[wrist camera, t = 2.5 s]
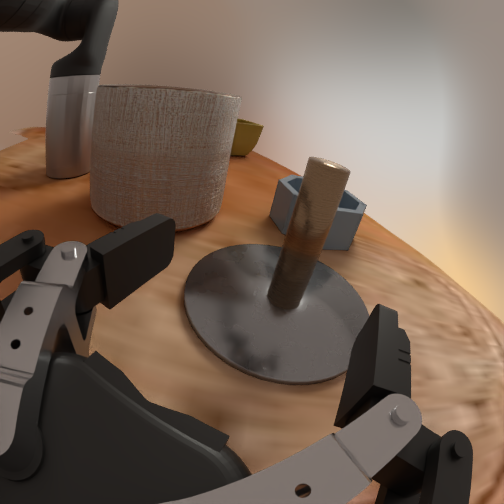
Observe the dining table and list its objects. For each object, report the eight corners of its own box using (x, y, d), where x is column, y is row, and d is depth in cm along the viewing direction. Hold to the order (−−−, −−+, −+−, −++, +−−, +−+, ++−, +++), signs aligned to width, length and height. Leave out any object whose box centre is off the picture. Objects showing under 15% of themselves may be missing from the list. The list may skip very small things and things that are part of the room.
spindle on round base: (177, 248, 29) (193, 123, 22) (319, 252, 34) (354, 153, 28) (200, 402, 15) (237, 207, 9) (397, 361, 21) (480, 238, 14)
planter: (241, 234, 34) (272, 103, 26) (88, 245, 25) (89, 86, 17) (197, 181, 46) (214, 91, 38) (93, 184, 38) (100, 84, 30)
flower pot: (236, 149, 75) (243, 118, 70) (256, 158, 70) (264, 125, 65) (210, 149, 69) (216, 116, 65) (229, 158, 64) (237, 122, 60)
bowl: (261, 205, 43) (269, 171, 40) (326, 211, 47) (336, 182, 44) (292, 248, 33) (306, 207, 31) (366, 251, 38) (381, 217, 35)
